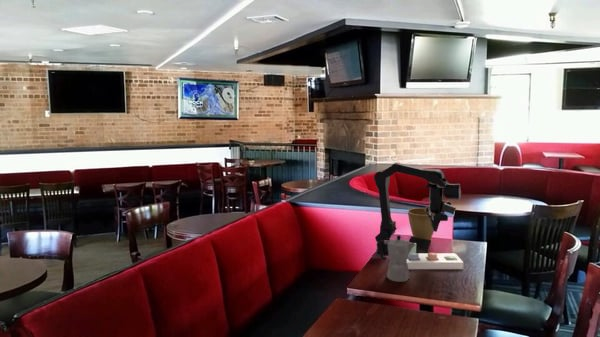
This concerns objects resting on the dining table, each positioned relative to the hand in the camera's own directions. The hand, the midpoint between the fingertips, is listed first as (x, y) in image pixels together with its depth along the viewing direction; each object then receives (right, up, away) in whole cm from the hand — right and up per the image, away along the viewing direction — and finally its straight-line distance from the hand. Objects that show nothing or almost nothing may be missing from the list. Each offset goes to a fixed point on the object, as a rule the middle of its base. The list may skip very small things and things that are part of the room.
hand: (435, 231), depth 211 cm
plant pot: (+2, -9, +29) cm, 30 cm away
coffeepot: (-22, -17, -19) cm, 34 cm away
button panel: (-3, -14, -5) cm, 15 cm away
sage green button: (+5, -14, -6) cm, 16 cm away
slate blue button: (-11, -13, -6) cm, 18 cm away
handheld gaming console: (-5, -12, +14) cm, 19 cm away
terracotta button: (-3, -13, -6) cm, 14 cm away
